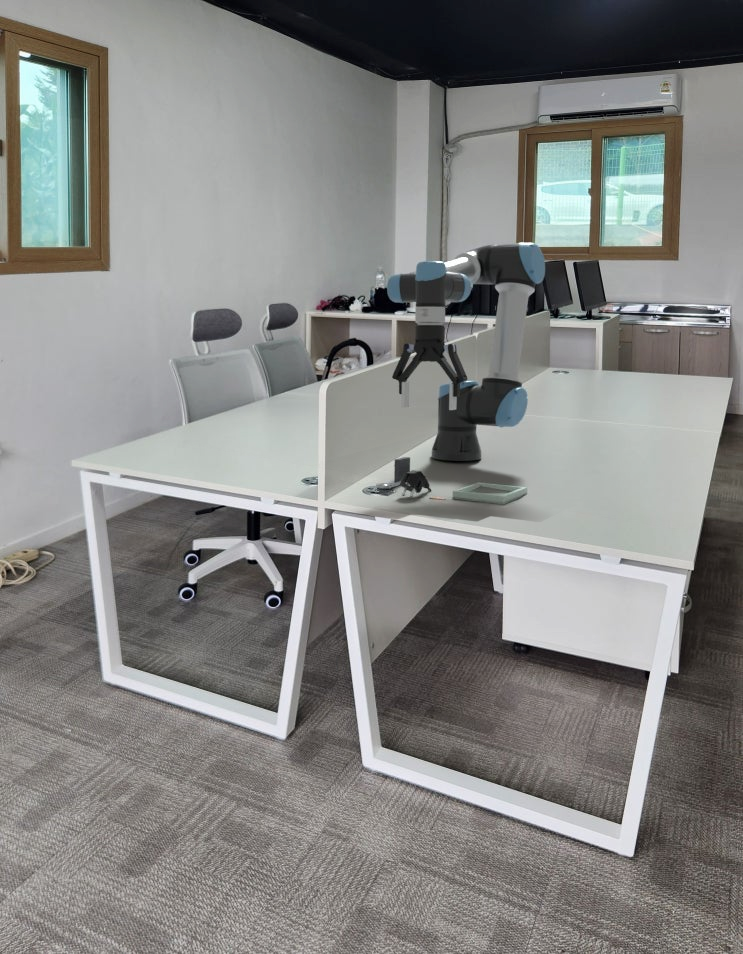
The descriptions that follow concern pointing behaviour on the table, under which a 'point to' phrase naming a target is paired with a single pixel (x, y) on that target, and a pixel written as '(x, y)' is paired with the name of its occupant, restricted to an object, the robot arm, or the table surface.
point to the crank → (397, 473)
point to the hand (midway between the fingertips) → (428, 408)
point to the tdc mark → (437, 498)
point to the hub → (384, 491)
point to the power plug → (414, 482)
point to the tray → (490, 497)
